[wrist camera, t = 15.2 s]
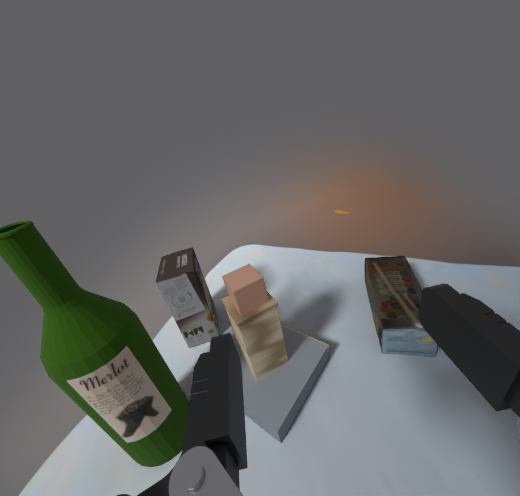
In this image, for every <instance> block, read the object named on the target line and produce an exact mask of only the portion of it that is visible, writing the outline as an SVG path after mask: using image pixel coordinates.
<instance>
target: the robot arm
mask: <svg viewBox="0 0 520 496" xmlns="http://www.w3.org/2000/svg"><path fill="white" fill-rule="evenodd" d="M419 321H420V323H421V325H422V327H423V328H424V330H425V331H426V332H427V333H428V334H429V335H430V337H431V338H432V339H433V340H434V341H435V342H436V343H437V344H438V346H439V347H440V348H441V349H442V350H443V351H444V352H445V354H446V355H447V356H448V357H449V358H450V359H451V360H452V361H453V363H454V364H455V365H456V366H457V367H458V368H459V369H460V371H461V372H462V373H463V374H464V375H465V376H466V377H467V379H468V380H469V381H470V382H471V383H472V384H473V385H474V386H475V388H476V389H477V390H478V391H479V392H480V393H481V394H482V396H483V397H484V398H485V399H486V400H487V401H488V402H489V403H490V405H491V406H492V407H493V408H494V409H495V410H496V411H500V410H505V409H509V408H511V409H512V410H513V411H514V412H515V413H516V414H517V416H516V425H517V430H518V435H519V440H520V331H519V330H518V329H516V328H515V327H514V326H512V325H511V324H510V323H507V322H506V320H505V319H503V318H502V317H501V316H499V315H498V314H495V313H494V311H493V310H492V309H490V308H489V307H488V306H487V305H485V304H484V303H483V302H481V301H480V300H477V299H475V298H473V297H471V296H469V295H467V294H464V293H463V294H459V293H458V292H457V291H456V290H455V289H453V288H452V287H451V286H449V285H448V284H440V285H435V286H431V287H427V288H424V289H423V291H422V297H421V302H420V308H419ZM245 468H247V451H246V433H245V415H244V397H243V379H242V367H241V361H240V357H239V354H238V351H237V349H236V346H235V344H234V341H233V339H232V336H231V334H230V333H227V334H223V335H219V336H215V337H212V338H211V345H210V352H207V353H203V354H201V355H200V357H199V359H198V361H197V363H196V365H195V367H194V373H193V384H192V389H191V397H190V405H189V413H188V421H187V428H186V436H185V443H184V448H183V451H182V454H181V456H180V458H179V460H178V461H177V463H176V464H175V466H174V468H173V469H172V470H171V471H170V473H168V474H167V475H166V476H165V477H164V478H163V479H161V480H160V481H158V482H157V483H155V484H154V485H152V486H151V487H149V488H148V489H146V490H145V491H143V492H142V493H140V494H139V495H137V496H243V495H242V493H241V492H240V490H239V470H241V469H245ZM117 496H130V495H127V494H121V495H117Z"/></svg>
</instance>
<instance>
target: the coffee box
mask: <svg viewBox="0 0 520 496" xmlns="http://www.w3.org/2000/svg"><path fill="white" fill-rule="evenodd" d="M156 283H157V285H158V287H159V289H160V291H161V293H162V295H163V297H164V299H165V301H166V303H167V305H168V307H169V309H170V311H171V313H172V315H173V317H174V319H175V321H176V323H177V325H178V327H179V329H180V331H181V333H182V335H183V337H184V339H185V341H186V343H187V345H188V347H189V348H191V347H193V346H196V345H199V344H202V343H205V342H208V341H210V340H211V338H212V337H215V336H219V330H218V323H217V315H216V308H215V305H214V302H213V300H212V297H211V295H210V292H209V289H208V287H207V284H206V281H205V279H204V276H203V273H202V271H201V268H200V265H199V263H198V260H197V258H196V255H195V252H194V249H193V248H189V249H185V250H181V251H178V252H175V253H172V254H170V255H166V256H163V257H162V258H161V262H160V266H159V270H158V275H157V279H156Z"/></svg>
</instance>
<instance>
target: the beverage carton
mask: <svg viewBox="0 0 520 496" xmlns="http://www.w3.org/2000/svg"><path fill="white" fill-rule="evenodd" d="M365 283H366V287H367V292H368V297H369V301H370V306H371V310H372V315H373V319H374V323H375V327H376V331H377V335H378V338H379V341H380V346H381V351H382V353H383V354H401V355H415V356H433V357H434V356H435V355H436V351H437V347H438V344H437V343H436V342H435V341H434V340H433V339H432V338H431V337H430V335H429V334H428V333H427V332H426V331H425V330H424V328H423V327H422V325H421V323H420V321H419V308H420V302H421V297H422V290H421V288H420V286H419V284H418V282H417V280H416V278H415V275H414V273H413V271H412V269H411V267H410V265H409V263H408V261H407V259H406V257H405V256H397V257H378V258H365Z"/></svg>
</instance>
